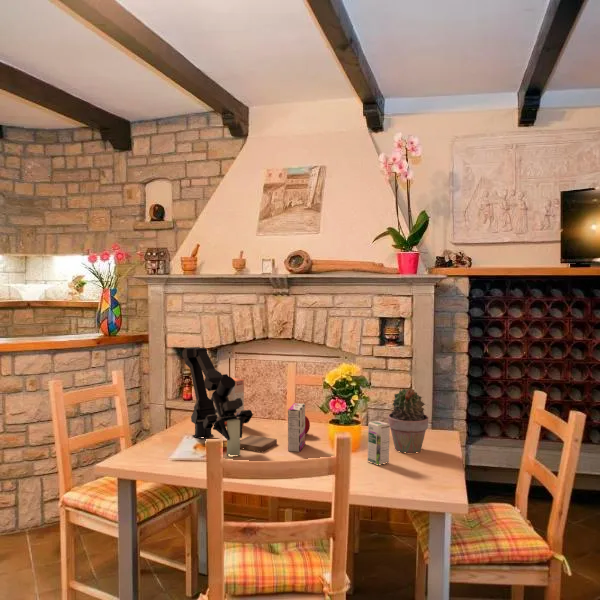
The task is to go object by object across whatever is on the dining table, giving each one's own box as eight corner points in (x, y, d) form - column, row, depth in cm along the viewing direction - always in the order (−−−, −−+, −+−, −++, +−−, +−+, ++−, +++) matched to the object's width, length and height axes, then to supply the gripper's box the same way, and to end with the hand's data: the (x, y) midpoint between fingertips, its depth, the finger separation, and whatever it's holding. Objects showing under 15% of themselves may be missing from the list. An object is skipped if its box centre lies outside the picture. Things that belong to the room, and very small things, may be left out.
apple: (313, 434, 236) (314, 410, 236) (302, 439, 229) (302, 415, 228) (295, 430, 241) (295, 408, 241) (284, 435, 234) (284, 412, 233)
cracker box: (244, 425, 250) (244, 379, 249) (234, 427, 245) (234, 380, 245) (224, 419, 259) (224, 375, 259) (214, 421, 255) (214, 376, 254)
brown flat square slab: (235, 447, 216) (235, 442, 216) (251, 439, 227) (251, 435, 227) (261, 452, 211) (261, 447, 211) (276, 443, 222) (276, 439, 221)
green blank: (224, 455, 207) (224, 421, 206) (233, 452, 210) (233, 418, 210) (233, 458, 204) (233, 423, 203) (242, 454, 208) (242, 420, 207)
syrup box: (366, 462, 200) (367, 422, 200) (378, 459, 204) (378, 420, 203) (378, 466, 196) (378, 425, 195) (389, 463, 199) (390, 423, 199)
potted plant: (413, 440, 228) (414, 380, 227) (440, 454, 210) (442, 389, 209) (374, 444, 222) (375, 382, 221) (399, 459, 204) (400, 392, 203)
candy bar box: (293, 443, 223) (293, 402, 222) (305, 444, 222) (305, 403, 221) (287, 451, 212) (287, 409, 211) (299, 452, 211) (300, 409, 210)
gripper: (206, 394, 204) (218, 430, 196) (250, 388, 215) (264, 423, 206) (197, 410, 211) (209, 446, 202) (241, 405, 222) (254, 439, 213)
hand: (235, 438), depth 206 cm, fingers closed on green blank, 5 cm apart
